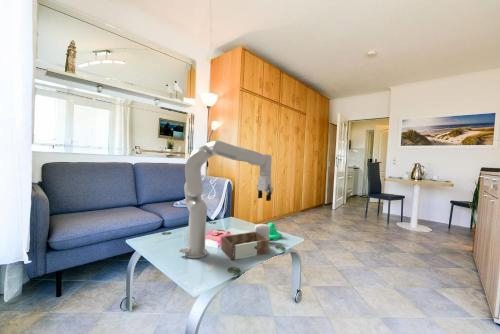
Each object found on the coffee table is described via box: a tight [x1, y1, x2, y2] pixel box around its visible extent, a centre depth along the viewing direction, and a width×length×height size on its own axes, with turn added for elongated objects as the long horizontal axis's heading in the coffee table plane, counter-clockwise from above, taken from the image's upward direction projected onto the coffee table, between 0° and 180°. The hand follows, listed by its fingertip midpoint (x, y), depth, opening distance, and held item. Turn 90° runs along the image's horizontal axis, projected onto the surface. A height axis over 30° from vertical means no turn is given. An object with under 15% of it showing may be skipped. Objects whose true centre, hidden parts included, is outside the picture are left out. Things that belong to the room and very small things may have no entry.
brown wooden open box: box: [220, 230, 270, 261], centre depth 130 cm, size 24×16×8 cm, turn 119°
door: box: [233, 241, 258, 260], centre depth 122 cm, size 14×2×8 cm, turn 119°
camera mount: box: [267, 222, 283, 241], centre depth 155 cm, size 12×8×10 cm, turn 122°
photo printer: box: [254, 223, 270, 240], centre depth 145 cm, size 10×4×12 cm, turn 98°
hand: (264, 199), depth 142 cm, fingers open, 9 cm apart
